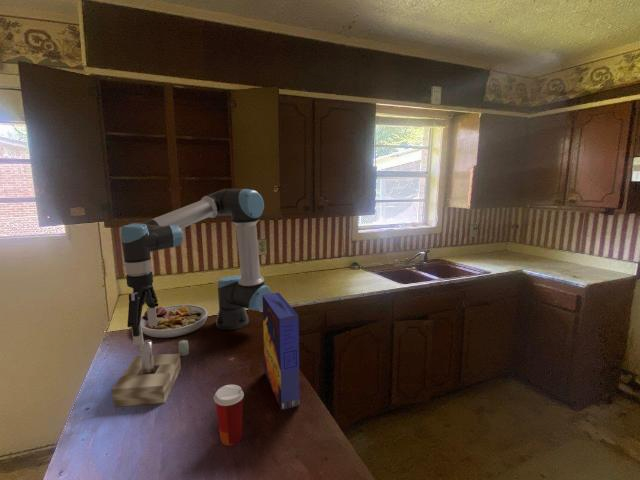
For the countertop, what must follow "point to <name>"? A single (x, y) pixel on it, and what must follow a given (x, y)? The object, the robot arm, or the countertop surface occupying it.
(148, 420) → the countertop surface
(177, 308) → the bowl
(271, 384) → the cereal box
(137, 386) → the hole block
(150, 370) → the long steel pin
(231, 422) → the paper cup
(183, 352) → the grey-green rounded piece
